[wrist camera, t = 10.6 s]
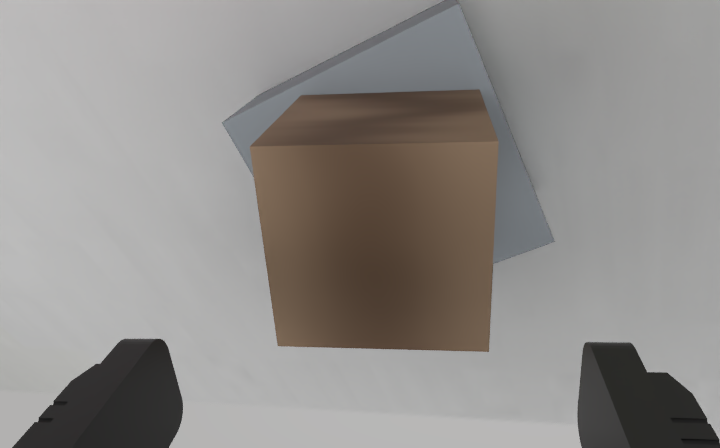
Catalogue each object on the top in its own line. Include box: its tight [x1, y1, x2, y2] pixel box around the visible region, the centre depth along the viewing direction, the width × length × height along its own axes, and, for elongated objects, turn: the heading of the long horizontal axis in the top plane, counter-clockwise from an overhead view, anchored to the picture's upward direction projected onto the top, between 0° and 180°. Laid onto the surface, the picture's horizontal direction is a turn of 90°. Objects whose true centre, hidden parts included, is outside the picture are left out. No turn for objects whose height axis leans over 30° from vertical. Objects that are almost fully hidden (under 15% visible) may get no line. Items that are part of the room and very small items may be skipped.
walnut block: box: [250, 89, 499, 352], centre depth 17 cm, size 6×6×6 cm
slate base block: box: [222, 0, 555, 264], centre depth 23 cm, size 9×9×5 cm
